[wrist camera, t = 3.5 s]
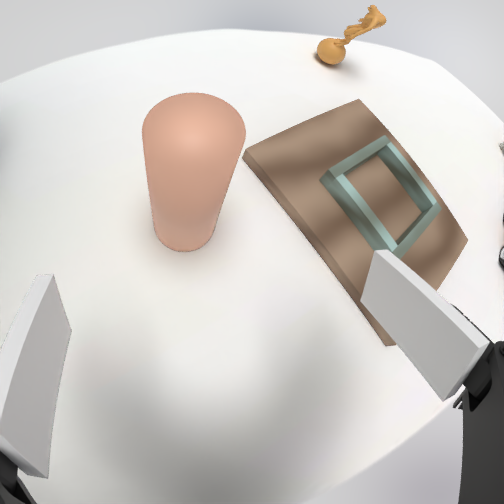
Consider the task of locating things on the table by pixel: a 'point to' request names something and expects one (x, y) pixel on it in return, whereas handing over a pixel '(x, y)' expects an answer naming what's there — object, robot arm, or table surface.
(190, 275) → the table surface
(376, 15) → the figurine
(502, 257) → the race car
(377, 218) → the jig board
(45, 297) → the robot arm
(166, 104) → the pink rounded cylinder
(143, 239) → the table surface
